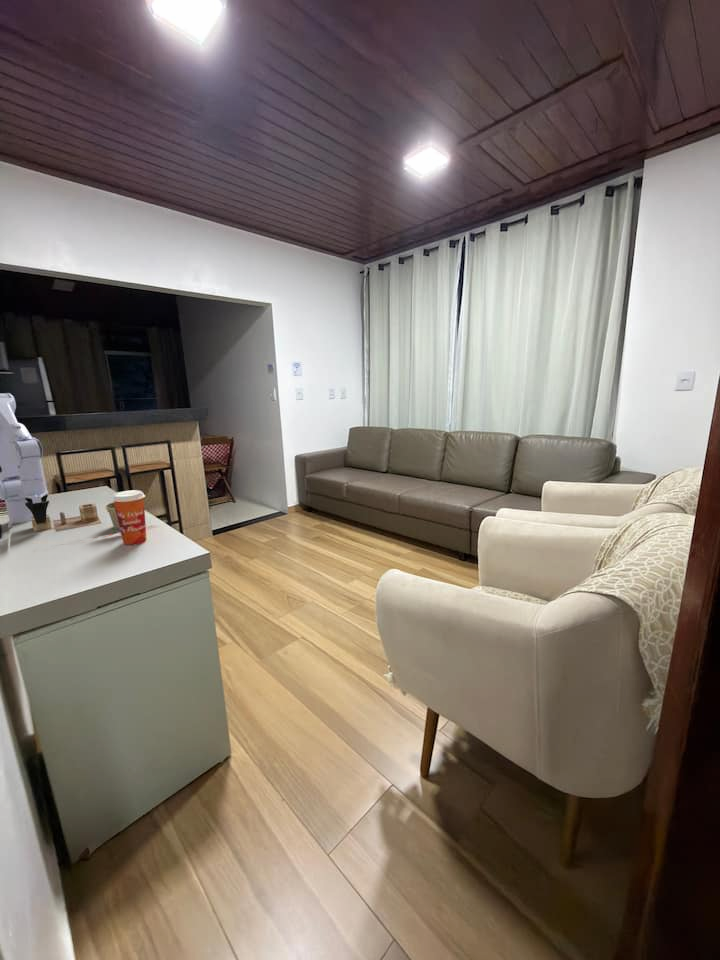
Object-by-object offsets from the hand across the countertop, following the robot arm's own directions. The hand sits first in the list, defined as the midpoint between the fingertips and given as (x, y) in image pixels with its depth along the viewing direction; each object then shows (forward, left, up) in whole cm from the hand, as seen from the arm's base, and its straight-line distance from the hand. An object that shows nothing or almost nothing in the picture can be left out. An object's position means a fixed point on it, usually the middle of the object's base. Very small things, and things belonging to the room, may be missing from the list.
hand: (41, 520), depth 120 cm
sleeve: (0, 0, -4) cm, 4 cm away
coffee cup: (+29, +20, -4) cm, 36 cm away
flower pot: (+15, +20, -4) cm, 26 cm away
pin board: (0, +9, -4) cm, 10 cm away
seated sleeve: (0, +12, -3) cm, 13 cm away
